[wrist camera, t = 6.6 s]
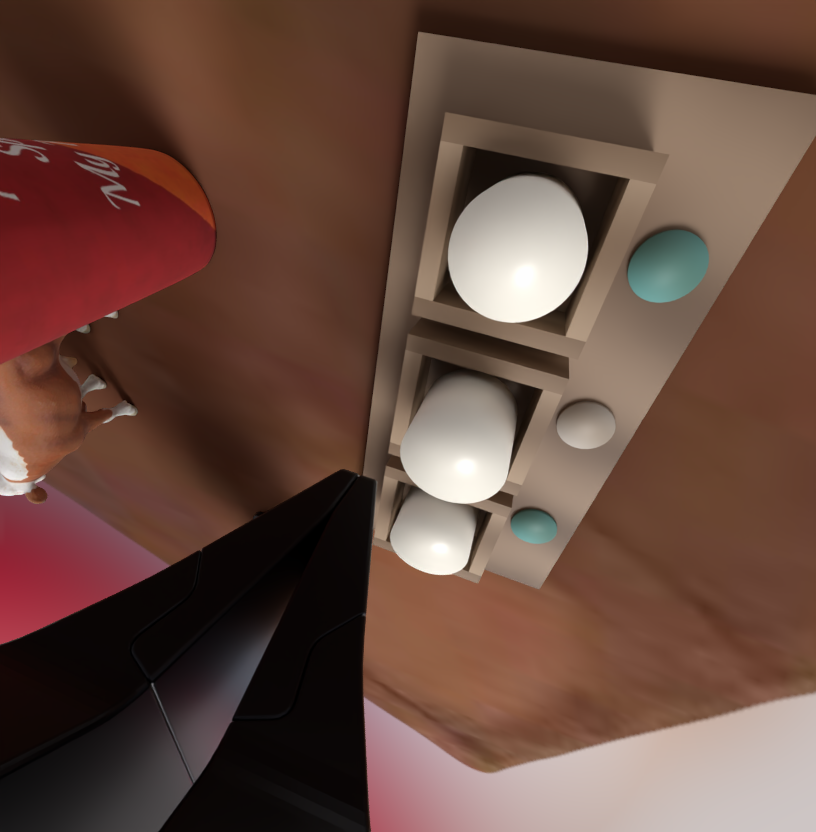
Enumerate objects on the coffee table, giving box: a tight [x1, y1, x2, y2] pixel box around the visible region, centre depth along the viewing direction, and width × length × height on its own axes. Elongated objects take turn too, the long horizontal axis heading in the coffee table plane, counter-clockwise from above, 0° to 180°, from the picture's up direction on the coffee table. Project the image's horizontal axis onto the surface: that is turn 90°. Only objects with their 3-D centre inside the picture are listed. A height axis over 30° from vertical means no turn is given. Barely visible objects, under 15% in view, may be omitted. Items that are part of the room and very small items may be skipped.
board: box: [363, 32, 816, 589], centre depth 19 cm, size 24×12×4 cm, turn 171°
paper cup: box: [0, 138, 216, 365], centre depth 15 cm, size 8×8×14 cm
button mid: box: [400, 369, 518, 504], centre depth 17 cm, size 4×4×4 cm
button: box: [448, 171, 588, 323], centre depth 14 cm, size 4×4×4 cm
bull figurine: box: [0, 311, 138, 504], centre depth 25 cm, size 4×13×8 cm, turn 161°
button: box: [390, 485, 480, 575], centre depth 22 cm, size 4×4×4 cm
